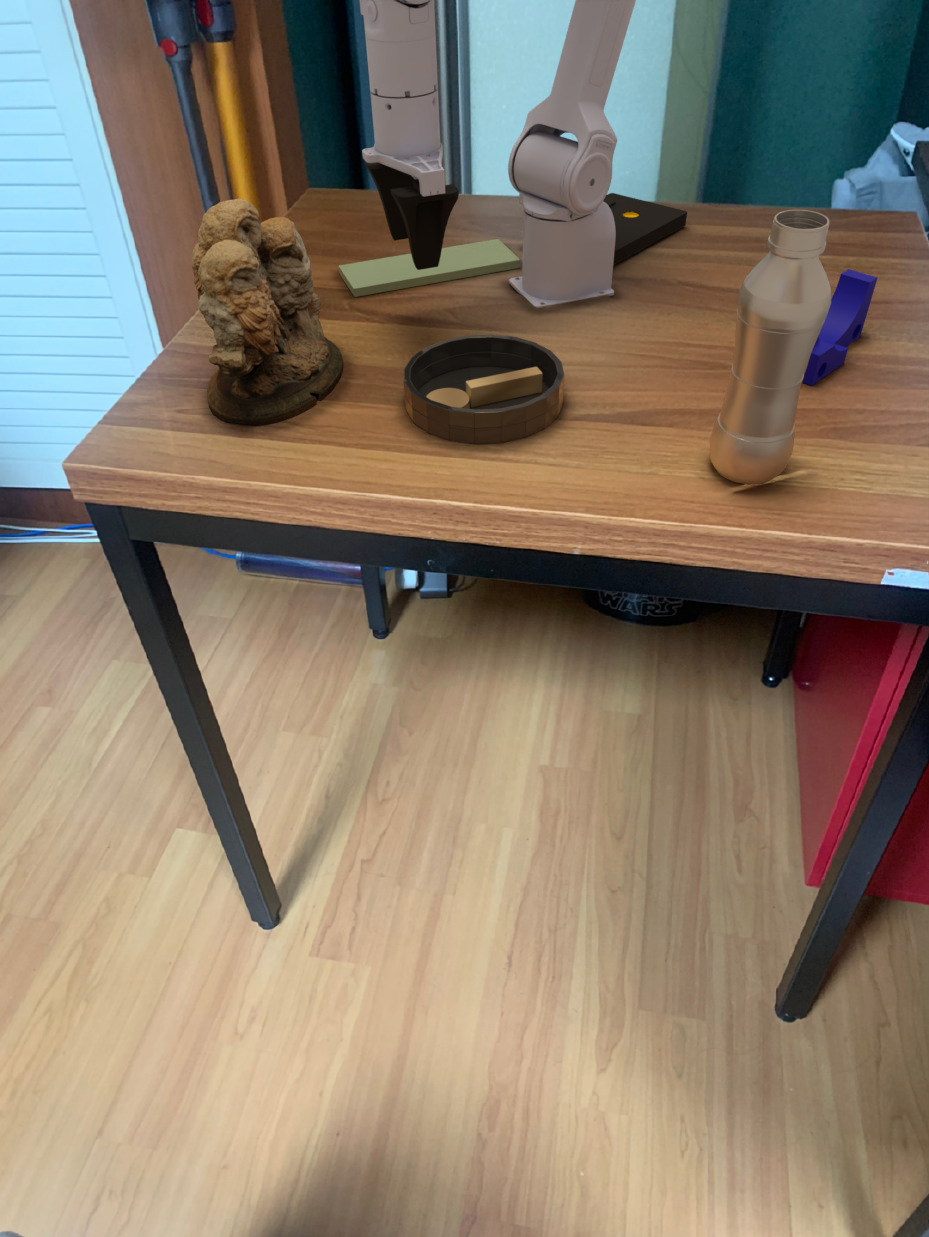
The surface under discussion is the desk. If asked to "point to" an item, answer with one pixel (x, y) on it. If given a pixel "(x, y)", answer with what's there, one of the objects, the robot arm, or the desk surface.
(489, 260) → the board
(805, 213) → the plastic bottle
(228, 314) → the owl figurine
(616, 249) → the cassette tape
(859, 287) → the blue curved bracket
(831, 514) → the desk surface
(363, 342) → the desk surface
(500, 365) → the pan
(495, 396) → the wooden paddle
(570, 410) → the desk surface
